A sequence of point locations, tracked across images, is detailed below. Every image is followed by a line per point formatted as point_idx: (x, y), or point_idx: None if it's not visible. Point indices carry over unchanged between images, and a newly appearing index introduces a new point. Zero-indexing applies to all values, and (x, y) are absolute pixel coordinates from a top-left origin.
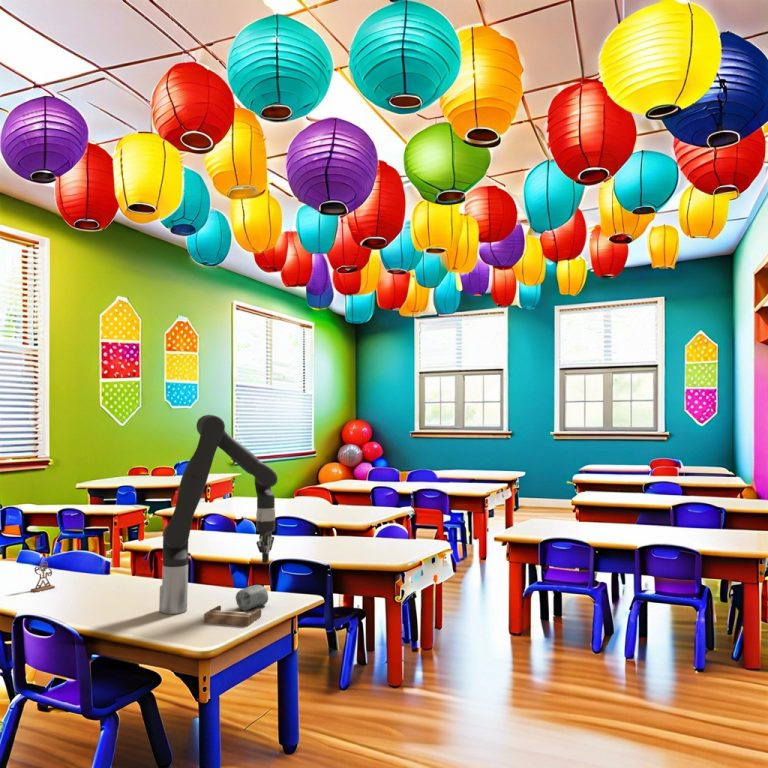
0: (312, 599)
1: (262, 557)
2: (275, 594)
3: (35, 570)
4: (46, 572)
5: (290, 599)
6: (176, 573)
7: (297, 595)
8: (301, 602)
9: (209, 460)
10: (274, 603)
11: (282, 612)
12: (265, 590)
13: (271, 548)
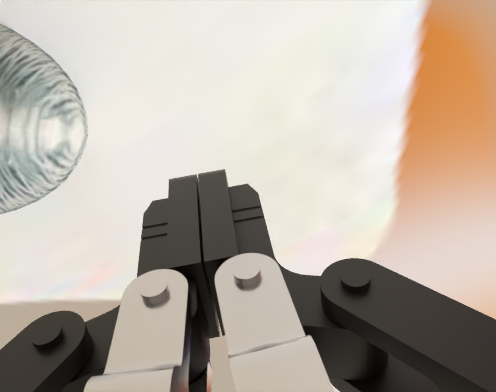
0: (312, 273)
1: (141, 244)
2: (357, 31)
3: None
4: None
5: (269, 185)
6: None
7: (370, 172)
8: None
9: None
10: (142, 153)
11: (12, 280)
12: (7, 211)
13: (391, 361)
